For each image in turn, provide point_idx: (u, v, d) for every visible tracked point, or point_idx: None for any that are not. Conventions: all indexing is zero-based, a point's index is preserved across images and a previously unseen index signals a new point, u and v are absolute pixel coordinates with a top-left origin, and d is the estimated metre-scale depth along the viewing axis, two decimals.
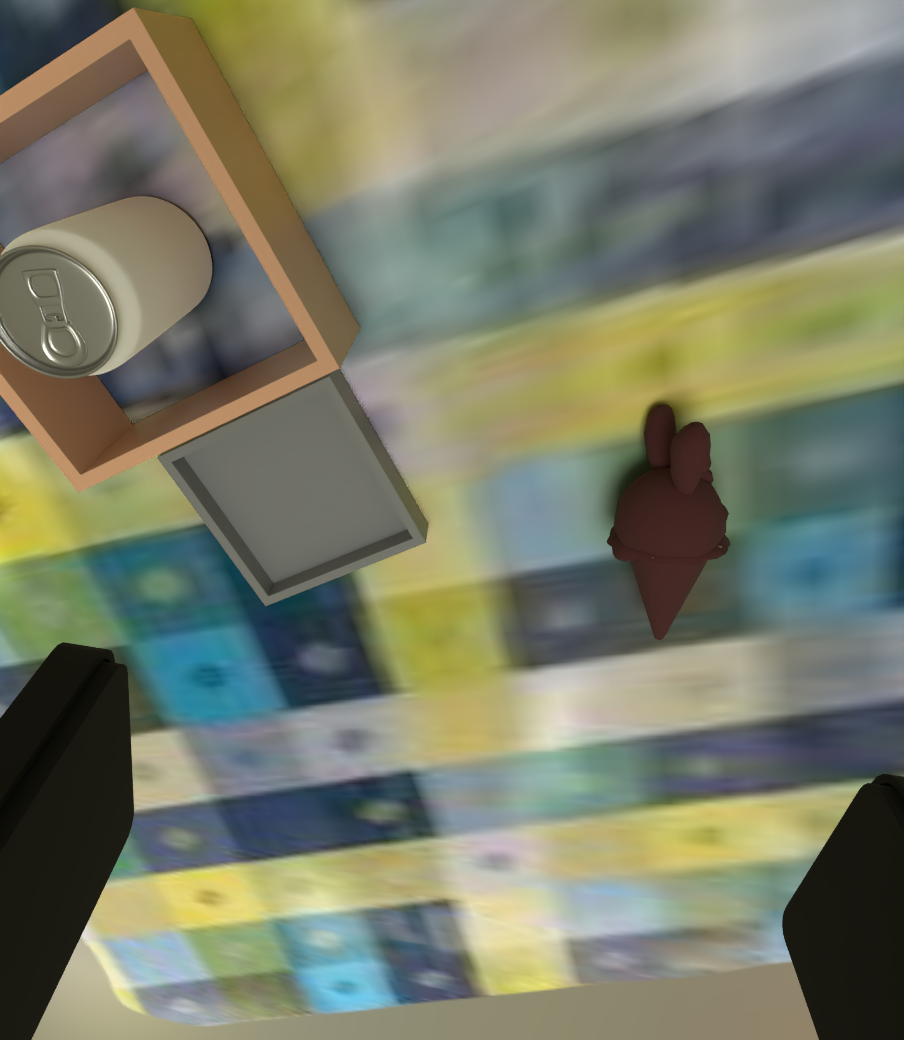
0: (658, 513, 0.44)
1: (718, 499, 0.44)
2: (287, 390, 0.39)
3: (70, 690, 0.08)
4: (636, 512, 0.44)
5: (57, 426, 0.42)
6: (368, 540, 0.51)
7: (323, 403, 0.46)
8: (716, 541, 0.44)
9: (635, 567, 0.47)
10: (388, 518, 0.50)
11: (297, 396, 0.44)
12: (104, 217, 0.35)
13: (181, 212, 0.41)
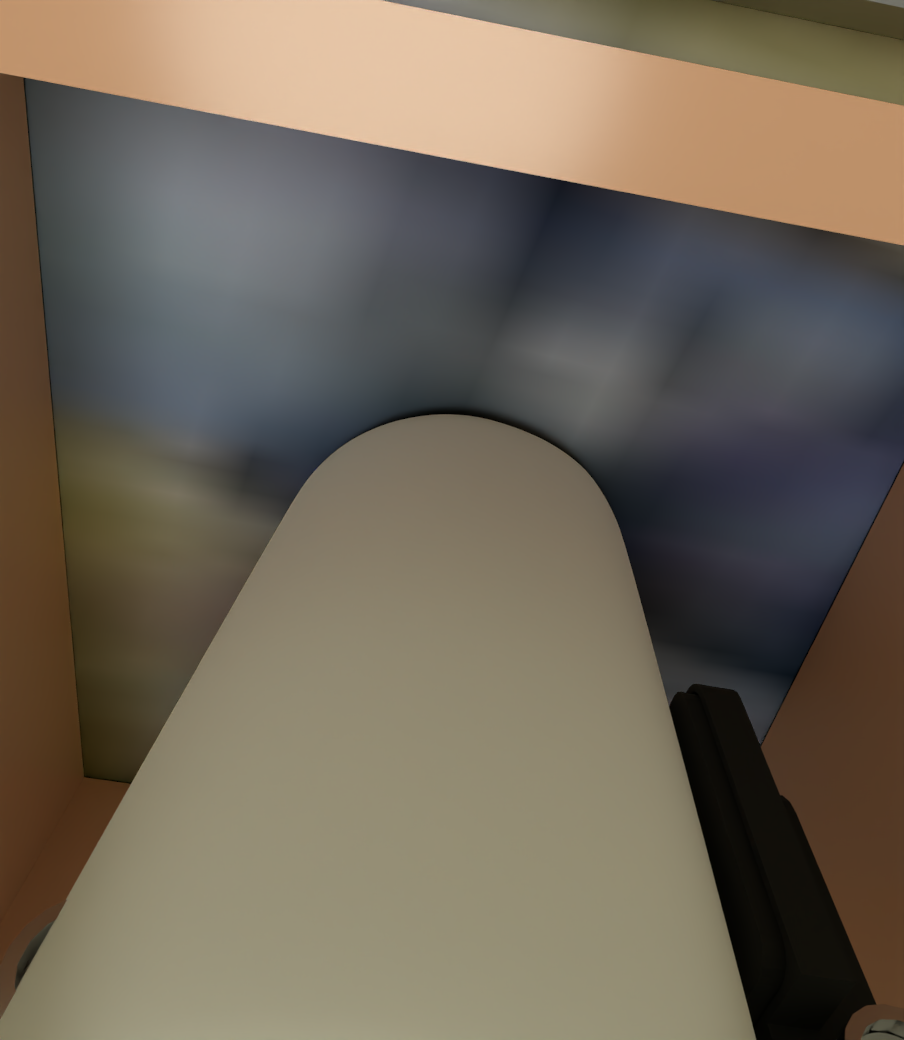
0: None
1: None
2: None
3: None
4: None
5: None
6: None
7: None
8: None
9: None
10: None
11: None
12: None
13: None
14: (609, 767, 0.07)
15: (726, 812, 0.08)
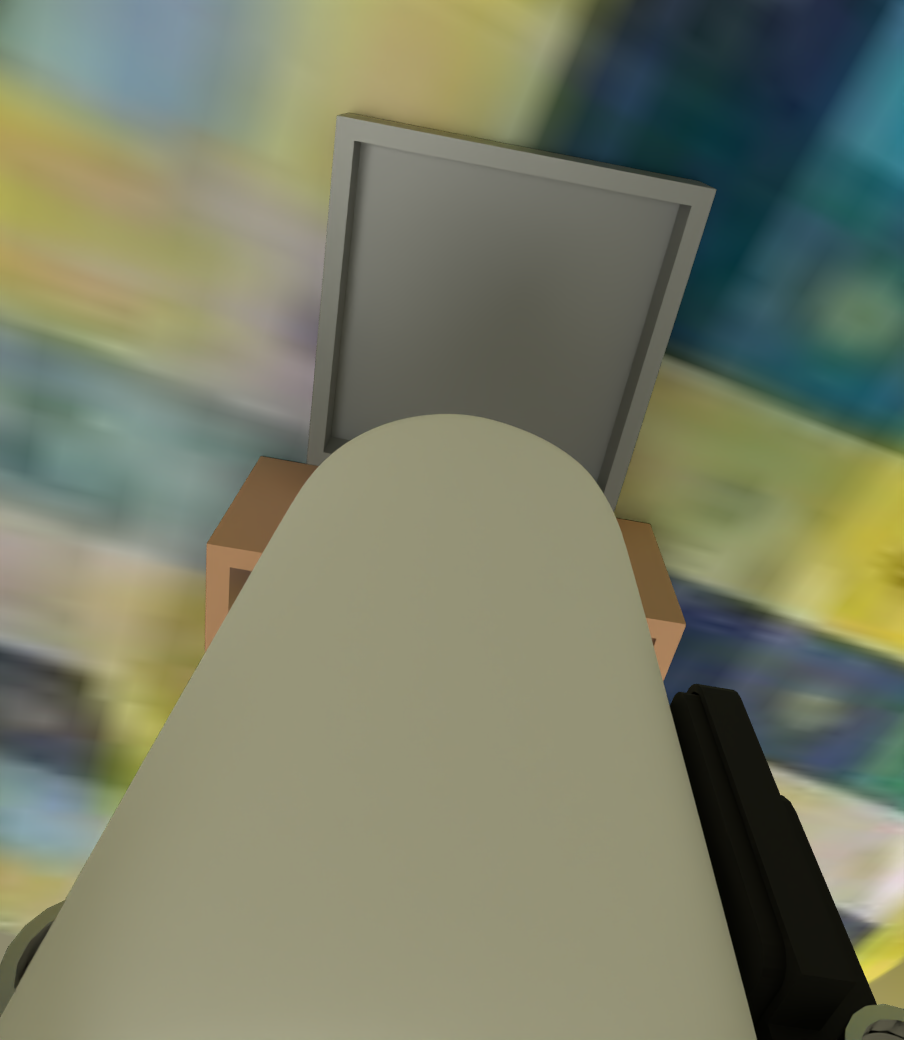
0: None
1: None
2: None
3: None
4: None
5: None
6: (457, 167, 0.26)
7: (360, 417, 0.30)
8: None
9: None
10: (394, 185, 0.26)
11: None
12: None
13: None
14: (612, 769, 0.07)
15: (726, 812, 0.08)
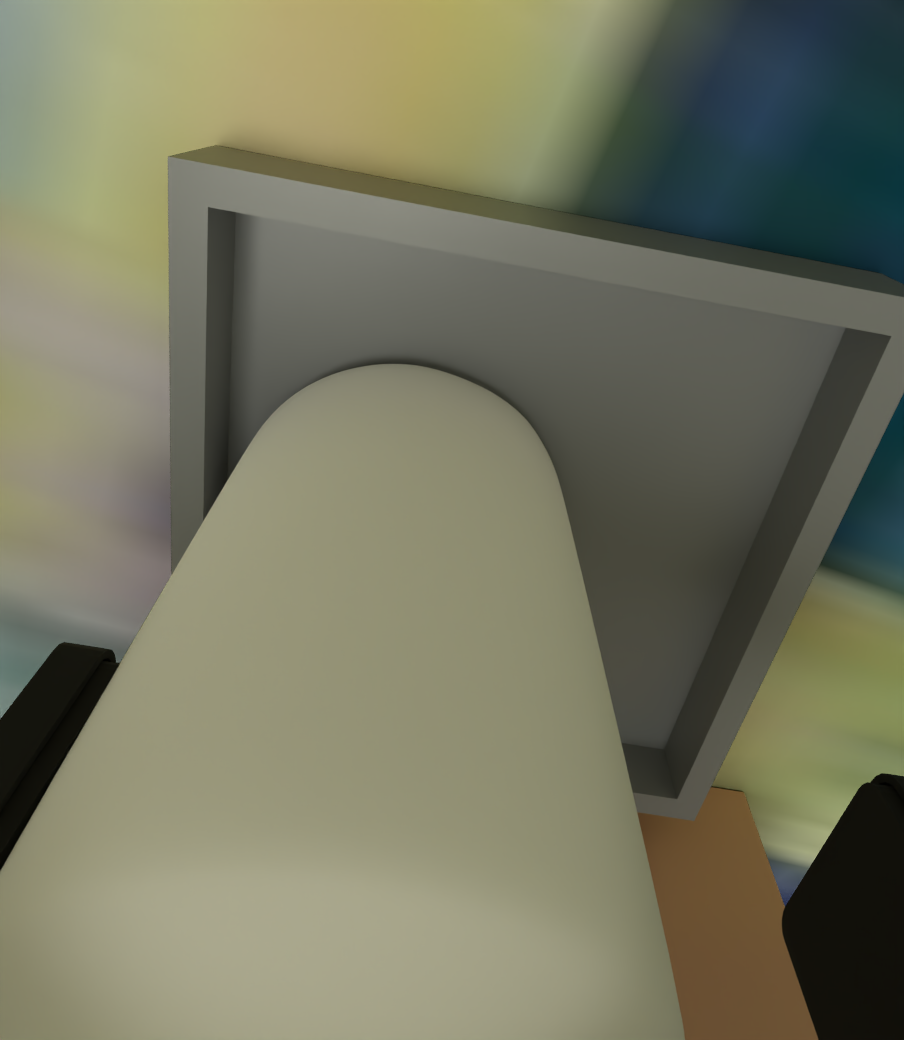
0: None
1: None
2: None
3: (71, 690, 0.08)
4: None
5: None
6: (423, 250, 0.13)
7: None
8: None
9: None
10: (305, 282, 0.14)
11: None
12: None
13: None
14: (534, 661, 0.08)
15: None
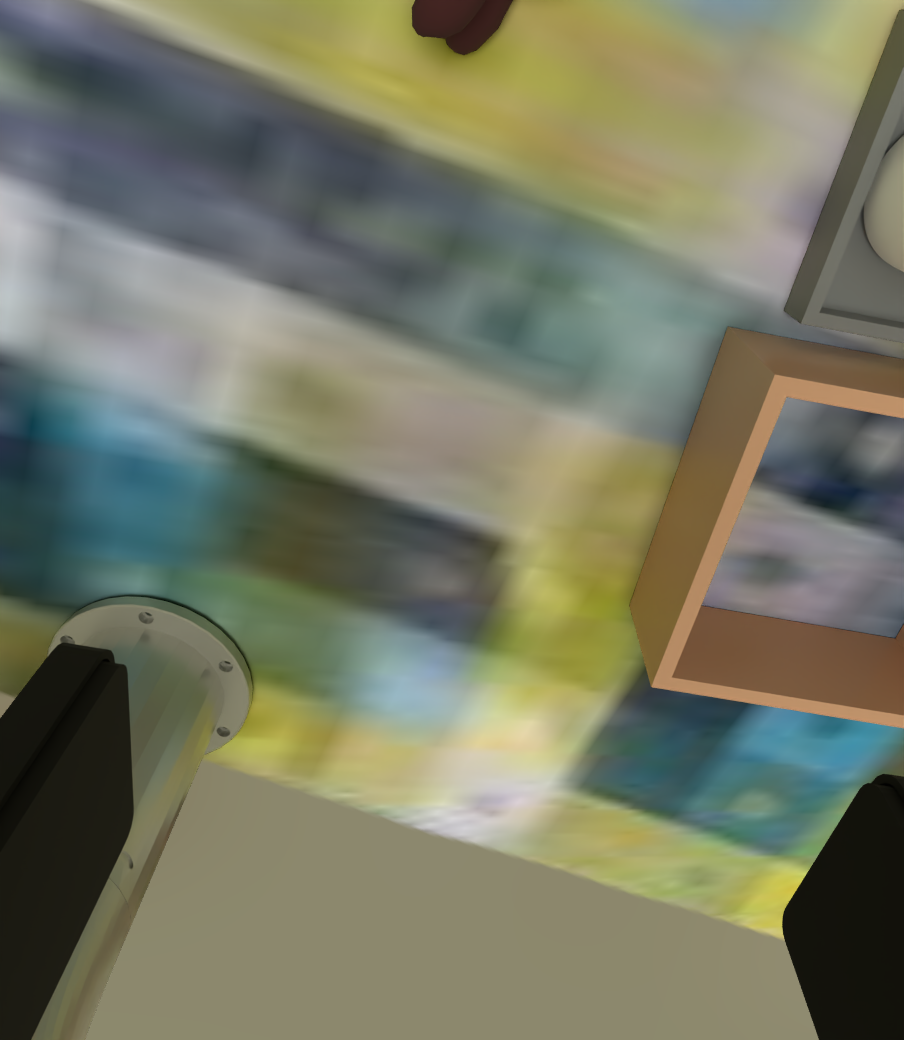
0: None
1: None
2: (845, 390, 0.31)
3: (70, 690, 0.08)
4: None
5: None
6: None
7: (839, 286, 0.35)
8: None
9: None
10: None
11: (852, 327, 0.34)
12: None
13: (866, 212, 0.33)
14: None
15: None
